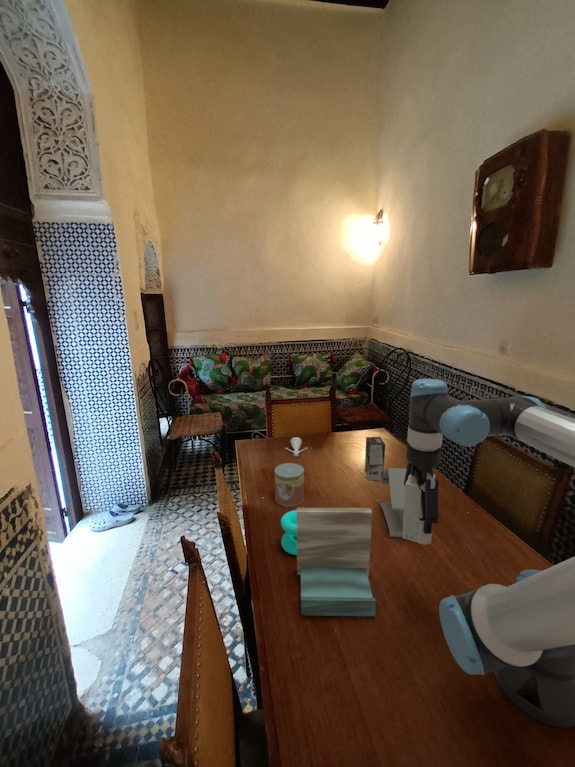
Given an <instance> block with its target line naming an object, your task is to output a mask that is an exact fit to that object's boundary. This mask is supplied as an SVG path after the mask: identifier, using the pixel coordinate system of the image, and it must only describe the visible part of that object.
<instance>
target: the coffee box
mask: <svg viewBox="0 0 575 767" xmlns="http://www.w3.org/2000/svg"><path fill="white" fill-rule="evenodd" d="M385 456H386V444H385V441H384V440H383V439H382V438H381V436H371V437H370V436H366V437H365V455H364V457H365V459H364V472H365V475H366V477H367V479H368V481H381V480H382V477H383V476H384V474H385V472H384V471H385Z"/></svg>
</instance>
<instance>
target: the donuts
mask: <svg viewBox="0 0 575 767" xmlns="http://www.w3.org/2000/svg"><path fill="white" fill-rule="evenodd" d="M280 525H281V528H282V529H283V531H284V532H285V533H284V534H283V535H282V537H281V540H280V541H281V542H280V544H281V547H282V548H283V550H284V551H285V552H286V553H288V554H290V555H293V556H297V509H296V510H290V511H288V512H286V513H284V514H283V515H282V517H281V520H280Z"/></svg>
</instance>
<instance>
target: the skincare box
mask: <svg viewBox="0 0 575 767" xmlns="http://www.w3.org/2000/svg"><path fill="white" fill-rule="evenodd" d="M433 479H436V475H435V474H434V477H433ZM420 488H421V489H422V490H423V491H424V492H425V484H421V486H420ZM420 517H422V510H421V490H420V489H419V486H418V484H417V480H416V477H415V475H414V476H411V474H410V475H409V476H408V480H407V482H406V483H405V496H404V515H403V535H402V537H401V538H402V539H404V540H409V541H412V542H415V543H417V544H419V542H418V538H419V527H420V520H419V518H420ZM422 545H423V546H427V545H428V544H422Z"/></svg>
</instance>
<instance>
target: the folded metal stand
mask: <svg viewBox="0 0 575 767" xmlns="http://www.w3.org/2000/svg"><path fill="white" fill-rule="evenodd" d="M406 469H407V467H406V468H405V467H404V468H401V467H400V468H399V467H398V468H397V467H387V469H386V471H385V472H384V474H383V477H382V480H380V481H381V485H389V492H390V501H391V502H386V501H385V502H380V503H379V506H380V508H382V512H383V514H384V517H385V521H386V523H387V527H388V530H389V531H388V536H389V537H390V538H402V535H403V515H404V496H405V486H404V480H405V474H406Z"/></svg>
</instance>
